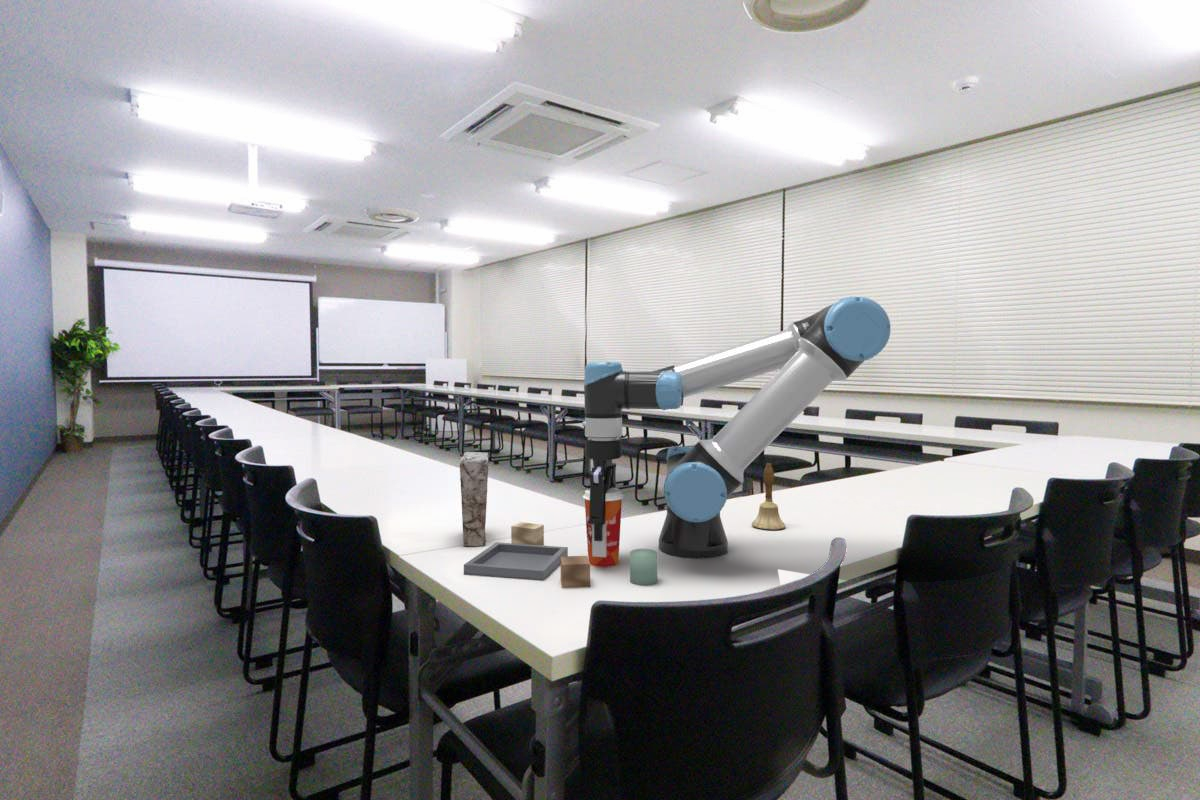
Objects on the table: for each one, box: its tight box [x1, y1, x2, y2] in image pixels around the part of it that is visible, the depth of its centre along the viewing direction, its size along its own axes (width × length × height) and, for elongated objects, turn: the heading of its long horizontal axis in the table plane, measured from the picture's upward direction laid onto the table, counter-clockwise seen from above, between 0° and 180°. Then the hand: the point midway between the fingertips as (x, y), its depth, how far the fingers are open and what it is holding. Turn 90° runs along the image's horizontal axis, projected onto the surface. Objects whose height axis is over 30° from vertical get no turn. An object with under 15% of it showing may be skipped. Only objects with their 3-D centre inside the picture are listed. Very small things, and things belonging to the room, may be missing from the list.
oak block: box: [510, 522, 545, 546], centre depth 140 cm, size 6×4×5 cm, turn 67°
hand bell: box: [751, 462, 786, 531], centre depth 160 cm, size 8×8×16 cm
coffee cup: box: [582, 487, 625, 568], centre depth 128 cm, size 8×8×15 cm
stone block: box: [459, 451, 489, 547], centre depth 146 cm, size 13×7×20 cm, turn 15°
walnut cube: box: [560, 555, 591, 589], centre depth 115 cm, size 5×5×5 cm
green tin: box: [629, 548, 658, 587], centre depth 116 cm, size 5×5×6 cm
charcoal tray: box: [463, 541, 569, 582], centre depth 126 cm, size 16×16×2 cm
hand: (603, 550), depth 128 cm, fingers closed on coffee cup, 7 cm apart
